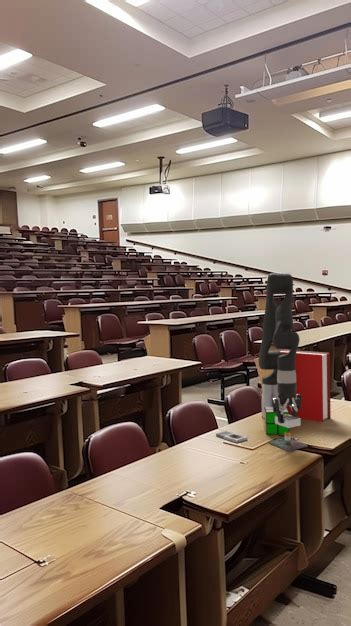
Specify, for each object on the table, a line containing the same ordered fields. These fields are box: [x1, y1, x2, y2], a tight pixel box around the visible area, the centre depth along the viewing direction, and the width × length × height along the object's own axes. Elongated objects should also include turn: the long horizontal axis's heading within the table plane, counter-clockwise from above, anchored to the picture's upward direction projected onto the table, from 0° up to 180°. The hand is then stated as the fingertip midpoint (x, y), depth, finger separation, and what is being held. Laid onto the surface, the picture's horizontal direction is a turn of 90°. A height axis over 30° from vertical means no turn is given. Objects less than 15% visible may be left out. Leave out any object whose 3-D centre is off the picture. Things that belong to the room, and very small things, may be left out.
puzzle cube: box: [263, 407, 290, 436], centre depth 215 cm, size 10×10×10 cm
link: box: [275, 414, 302, 429], centre depth 195 cm, size 8×6×3 cm
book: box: [273, 349, 332, 423], centre depth 239 cm, size 27×8×32 cm, turn 48°
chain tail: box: [215, 430, 248, 444], centre depth 207 cm, size 13×6×1 cm, turn 37°
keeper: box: [268, 431, 308, 452], centre depth 196 cm, size 12×10×5 cm
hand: (287, 421), depth 195 cm, fingers closed on link, 6 cm apart
